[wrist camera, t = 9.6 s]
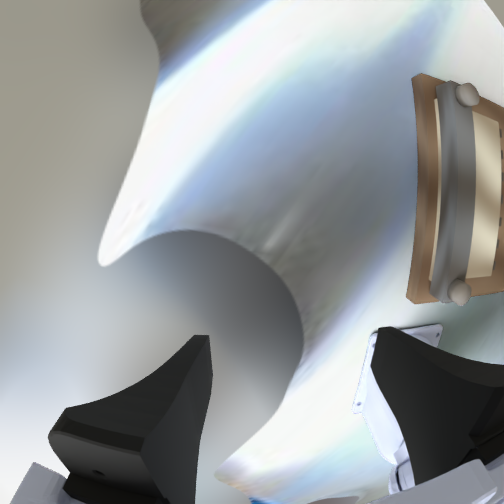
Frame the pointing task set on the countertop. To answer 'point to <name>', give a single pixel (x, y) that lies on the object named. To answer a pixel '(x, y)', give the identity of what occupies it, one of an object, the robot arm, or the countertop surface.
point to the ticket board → (430, 195)
